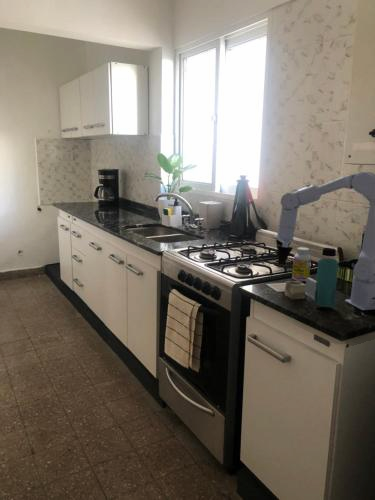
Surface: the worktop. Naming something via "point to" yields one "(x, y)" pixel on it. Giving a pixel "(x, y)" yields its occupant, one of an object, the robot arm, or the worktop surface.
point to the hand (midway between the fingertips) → (280, 261)
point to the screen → (310, 288)
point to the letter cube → (295, 289)
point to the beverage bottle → (326, 279)
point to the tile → (277, 287)
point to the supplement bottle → (301, 264)
